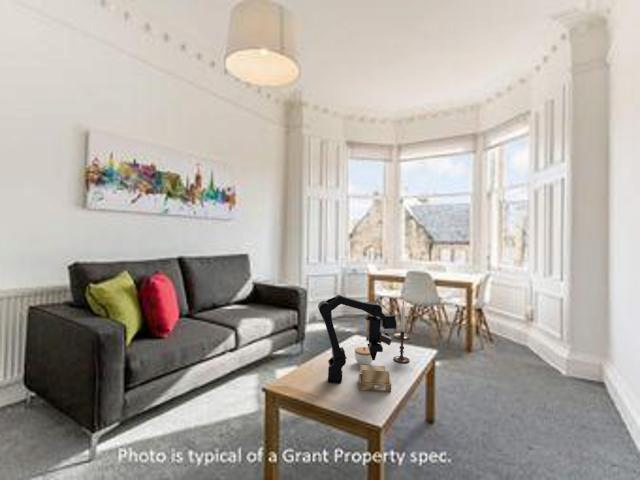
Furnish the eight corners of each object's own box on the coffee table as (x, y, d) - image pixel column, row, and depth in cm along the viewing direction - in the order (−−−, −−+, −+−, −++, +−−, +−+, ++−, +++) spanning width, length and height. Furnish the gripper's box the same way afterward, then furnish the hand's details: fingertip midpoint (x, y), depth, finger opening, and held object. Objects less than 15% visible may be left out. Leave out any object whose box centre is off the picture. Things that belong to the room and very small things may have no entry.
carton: (359, 390, 161) (359, 383, 161) (358, 380, 173) (358, 373, 172) (391, 392, 161) (391, 384, 161) (388, 381, 172) (388, 374, 172)
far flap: (360, 364, 177) (360, 365, 177) (360, 372, 173) (360, 372, 173) (384, 366, 177) (384, 366, 177) (386, 373, 172) (386, 374, 172)
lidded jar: (351, 365, 192) (351, 348, 192) (358, 359, 202) (359, 342, 202) (369, 369, 188) (370, 351, 187) (376, 362, 197) (376, 346, 197)
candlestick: (413, 364, 196) (415, 302, 195) (393, 363, 196) (395, 301, 195) (408, 357, 207) (410, 298, 206) (390, 356, 207) (392, 297, 206)
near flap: (362, 381, 161) (362, 381, 161) (362, 370, 163) (362, 370, 163) (389, 382, 161) (389, 383, 160) (389, 371, 162) (389, 371, 162)
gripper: (394, 335, 163) (393, 368, 164) (388, 324, 182) (387, 354, 182) (370, 334, 164) (369, 367, 164) (366, 323, 182) (365, 353, 183)
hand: (373, 360), depth 173 cm, fingers closed
